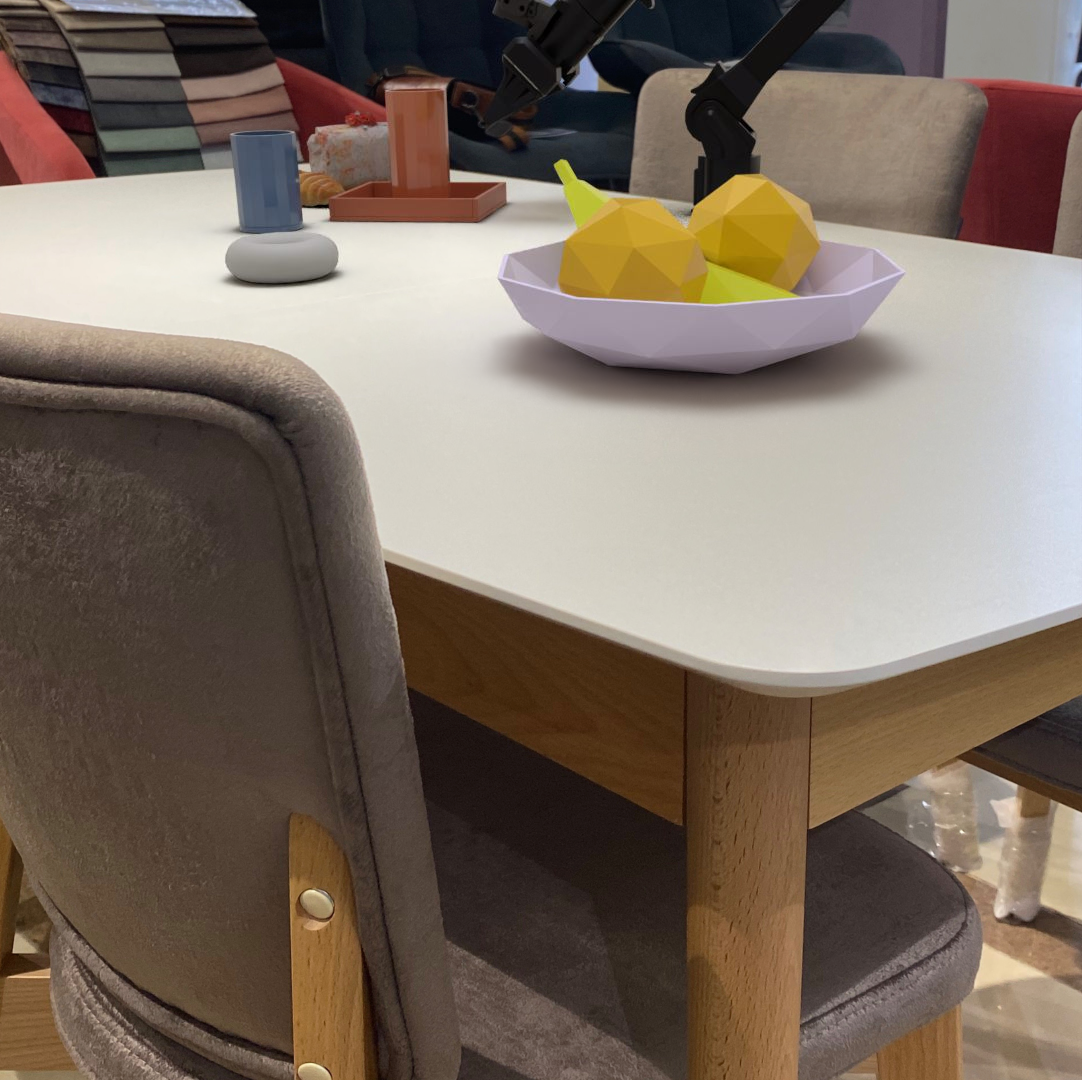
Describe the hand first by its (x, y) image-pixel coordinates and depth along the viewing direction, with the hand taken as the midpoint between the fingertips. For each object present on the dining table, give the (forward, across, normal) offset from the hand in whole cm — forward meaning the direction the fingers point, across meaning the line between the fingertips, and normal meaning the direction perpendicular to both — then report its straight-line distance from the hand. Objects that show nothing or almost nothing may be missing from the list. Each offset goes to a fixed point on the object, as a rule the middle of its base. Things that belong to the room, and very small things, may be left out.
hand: (493, 119), depth 147 cm
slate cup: (+23, +13, -9) cm, 28 cm away
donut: (+15, +40, -1) cm, 43 cm away
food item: (+23, -20, -8) cm, 31 cm away
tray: (+14, 0, +1) cm, 14 cm away
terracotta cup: (+13, 0, +1) cm, 13 cm away
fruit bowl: (-11, +63, +26) cm, 69 cm away
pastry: (+25, -7, -10) cm, 27 cm away
